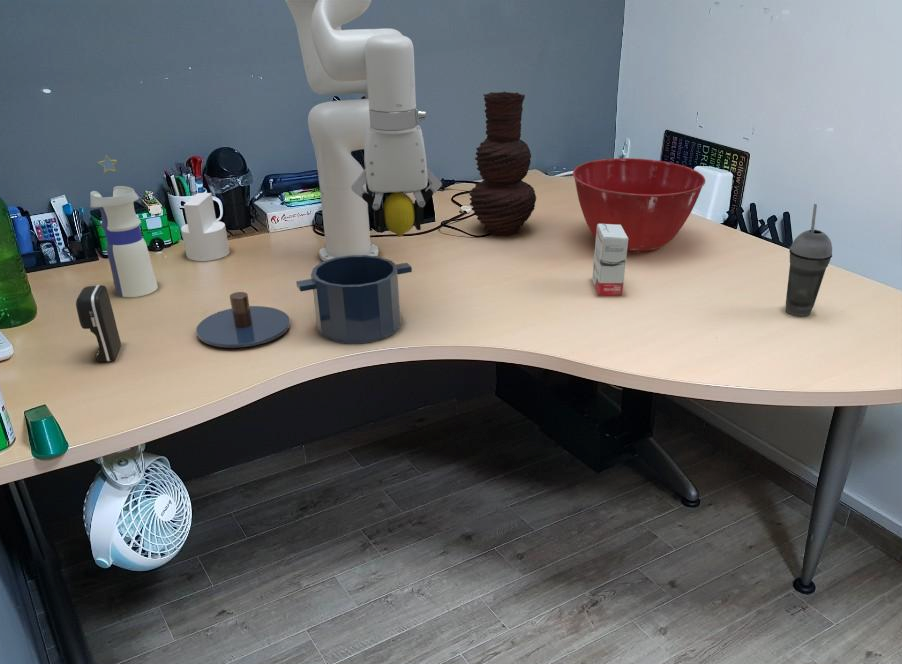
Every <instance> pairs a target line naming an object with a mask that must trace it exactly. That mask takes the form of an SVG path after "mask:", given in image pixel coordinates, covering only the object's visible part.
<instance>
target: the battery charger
mask: <svg viewBox="0 0 902 664" xmlns="http://www.w3.org/2000/svg"><path fill="white" fill-rule="evenodd" d="M75 308H76V313H77V317H78V320H79V324H80V327H81V328H82V329H83V330H90V332H91V333H92V334H93V335H95V338H96V342H97V344H98V349H97V350H96V353H95V354H94V360H95V361H97V362H111V361H114V360H115V359H116V357H117V355H118V352H119V350H120V347H121V345H122V341H121V337H120V334H119V329H118V326H117V322H116V318H115V314H114V310H113V306H112V302H111V298H110V294H109V292H108V288H107V287H106V285H102V284H97V285H87V286H85V287H83V288H82V290H80V293H79V294H78V296H77V298H76V301H75Z"/></svg>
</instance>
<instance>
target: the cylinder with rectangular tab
mask: <svg viewBox="0 0 902 664" xmlns="http://www.w3.org/2000/svg"><path fill="white" fill-rule="evenodd" d="M214 205H215V204H214V200H213V195H212V192H197V193H196V194H194V196H192V197H191V198H190V199H189V200H188V201H187V202H185V203H184V204H183V208H184V213H185V219H186V224H184V225H182V226H181V227H180V232H181V236H182V241H183V246H184V250H185V255H186V258H187V259H188V260H190V261H195V262H211V261H216V260H219V259H222V258H225V257H227V256H228V255H229V254H230V244H229V240H228V235H227V228H226V224H225V222H223V221H220V220H217V217H216V210H215V206H214Z"/></svg>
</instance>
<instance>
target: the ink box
mask: <svg viewBox="0 0 902 664" xmlns="http://www.w3.org/2000/svg"><path fill="white" fill-rule="evenodd" d="M594 242H595V244H594V254H593V267H592V276H591V278H592V283H593V286H594V287H595V291H596V294H597V296H601V297H602V296H605V297H606V296H609V297H610V296H612V297H613V296H623V291H624V282H625V273H626V272H625V271H626V263H627V255H628V252H627V246H628V237H627V235H626V233H625V232H624V230H623V228H622V226H621V225H614V224H597V231H596V238H595V241H594Z"/></svg>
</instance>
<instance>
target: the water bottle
mask: <svg viewBox="0 0 902 664" xmlns="http://www.w3.org/2000/svg"><path fill="white" fill-rule="evenodd" d="M117 162H118V160H117V159H110V157H109V156H108V155H107V154H105V156H104V160H101V161H98V162H97V164H99V165H101V166H102V167H103V174H105V173H107V172H108V171H112V172H116V170H117V169H116V168H115V164H116V163H117ZM112 188H113V189H112V191H113V192H112V196H102V194H101V193H100V192H99V191H96V190H92V191H90V193H89V194H90V196H89V197H90V209H91V208H92V209H95V208H98V209H99V211H100V214H101V222H100V227H101V229H103V233H104V235H105V240H106V253H107V258H108V263H109V266H110V271H111V274H112V280H113V284H114V290H115V294H116V295H117V296H119V297H122V298H139V297H143V296H147V295H150V294H152V293H155V292H156V291H157V290H158V288H159V285H158V282H157V280H156V275H155V273H154V268H153V265H152V261H151V257H150V252H149V249H148V245H147V243H146V240H145V239H144V237H143V234H142V230H141V229H142V228H141V223H142V220H141V218H139V217H138V215H137V213H136V210H135V204H134V202H136V201H137V200H139V199H140V197H139V195H138V194H137V192H135V189H134V188H132V187H130V186H125V185H116V186H114V187H112Z"/></svg>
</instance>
